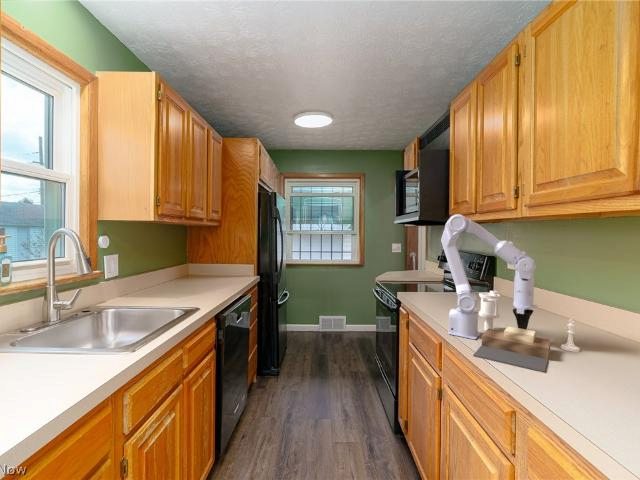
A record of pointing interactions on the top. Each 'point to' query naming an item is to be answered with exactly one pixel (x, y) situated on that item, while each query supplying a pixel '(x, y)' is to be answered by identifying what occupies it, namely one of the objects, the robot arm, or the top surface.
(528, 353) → the walnut deck
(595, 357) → the top surface
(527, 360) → the rubber mat
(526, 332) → the birch tile
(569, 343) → the chess piece
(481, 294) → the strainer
